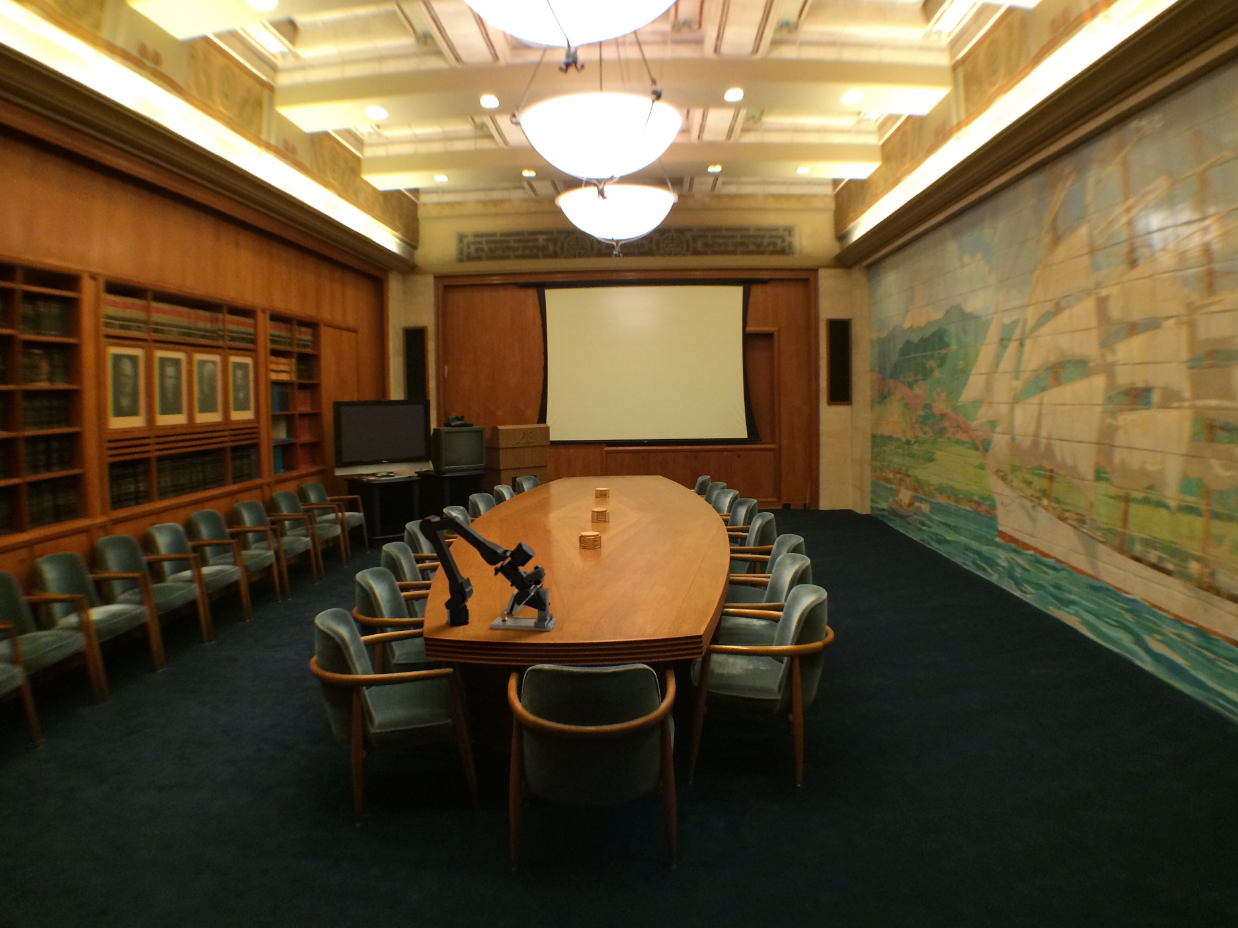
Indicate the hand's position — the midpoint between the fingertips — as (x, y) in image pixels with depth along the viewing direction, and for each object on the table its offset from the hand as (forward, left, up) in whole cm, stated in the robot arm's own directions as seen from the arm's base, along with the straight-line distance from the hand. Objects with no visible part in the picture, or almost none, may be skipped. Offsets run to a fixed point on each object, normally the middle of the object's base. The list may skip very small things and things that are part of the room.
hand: (547, 607), depth 237 cm
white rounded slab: (0, +25, -7) cm, 26 cm away
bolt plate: (-7, +5, -7) cm, 11 cm away
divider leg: (-1, +1, -7) cm, 7 cm away
